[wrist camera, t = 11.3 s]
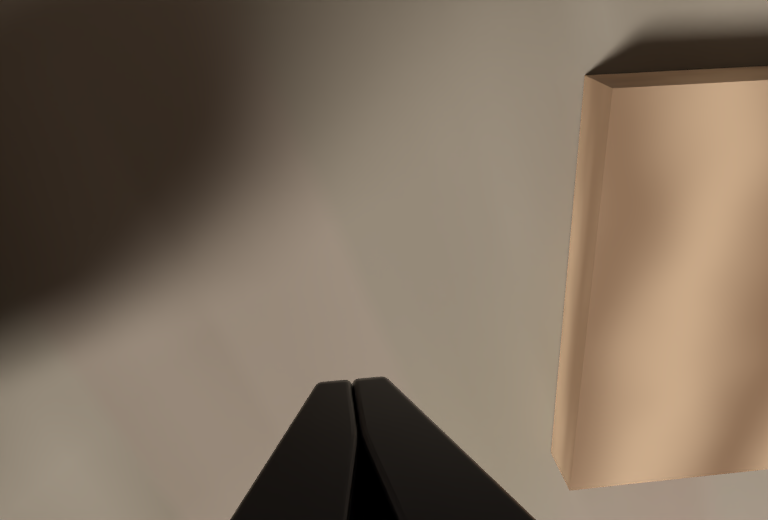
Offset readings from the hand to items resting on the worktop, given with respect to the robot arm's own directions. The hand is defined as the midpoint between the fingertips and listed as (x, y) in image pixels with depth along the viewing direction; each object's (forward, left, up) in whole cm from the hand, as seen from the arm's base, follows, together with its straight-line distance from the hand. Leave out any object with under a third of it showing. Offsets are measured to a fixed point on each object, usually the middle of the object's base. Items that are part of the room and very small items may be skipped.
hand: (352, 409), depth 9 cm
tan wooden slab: (+5, -14, -13) cm, 20 cm away
